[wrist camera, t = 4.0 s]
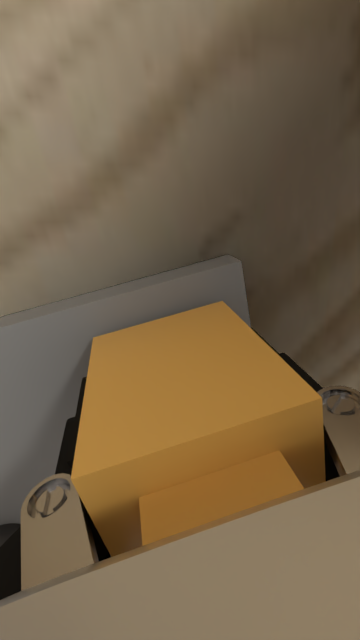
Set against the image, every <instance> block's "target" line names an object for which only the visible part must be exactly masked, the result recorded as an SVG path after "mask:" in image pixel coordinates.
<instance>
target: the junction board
mask: <svg viewBox="0 0 360 640" xmlns="http://www.w3.org/2000/svg"><path fill="white" fill-rule="evenodd" d="M220 301H223V302H224V303H225V304H226V305H227V306H228V307H230V308H231V309H232V310H233V311H234V312H235V313H236V314H237V315H238V316H239V317H240V318H241V319H242V320H243V321H244V322H245V323H246V324H247V325H248V326H249V327H250V328H251V323H250V316H249V310H248V303H247V296H246V289H245V282H244V276H243V269H242V262H241V260H239V259H236V258H234V257H232V256H230V255H225V256H221V257H217V258H214V259H210V260H206V261H203V262H199V263H195V264H192V265H188V266H185V267H181V268H177V269H174V270H170V271H166V272H163V273H159V274H155V275H152V276H148V277H144V278H141V279H137V280H134V281H130V282H126V283H123V284H119V285H115V286H112V287H108V288H104V289H101V290H97V291H94V292H90V293H86V294H83V295H79V296H75V297H72V298H68V299H64V300H61V301H57V302H53V303H50V304H46V305H43V306H39V307H35V308H32V309H28V310H24V311H21V312H17V313H13V314H10V315H6V316H3V317H0V547H1V546H2V545H3V544H4V542H5V541H6V540H7V539H8V538H9V537H10V536H11V535H12V534H13V533H14V532H15V531H16V530H17V529H18V528H19V527H20V526H21V508H22V504H23V502H24V500H25V498H26V496H27V495H28V494H29V493H30V491H31V490H32V489H33V488H34V487H35V486H36V485H37V484H38V483H40V482H41V481H43V480H44V479H46V478H48V477H50V476H52V475H55V471H56V466H57V462H58V457H59V453H60V448H61V443H62V439H63V434H64V430H65V425H66V422H67V419H69V418H72V417H75V415H76V410H77V404H78V399H79V393H80V388H81V382H82V378H83V377H87V373H88V367H89V360H90V354H91V348H92V341H93V337H97V336H100V335H104V334H107V333H111V332H114V331H118V330H121V329H125V328H128V327H132V326H135V325H139V324H142V323H146V322H149V321H153V320H157V319H160V318H164V317H167V316H171V315H174V314H178V313H181V312H185V311H188V310H192V309H195V308H199V307H202V306H206V305H209V304H213V303H216V302H220Z"/></svg>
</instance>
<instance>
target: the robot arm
mask: <svg viewBox="0 0 360 640" xmlns="http://www.w3.org/2000/svg"><path fill="white" fill-rule="evenodd" d="M251 329H252V330H253V331H254V332H255V333H256V334H257V335H258V336H259V337H260V338H261V339H262V340H263V341H264V342H265V343H266V344H268V343H267V342H266V341H265V340H264V339H263V338H262V337H261V336H260V335H259V334H258V333H257V332H256V331H255V330H254V329H253V328H251ZM268 345H269V344H268ZM269 346H270V345H269ZM270 347H271V346H270ZM271 348H272V347H271ZM272 349H273V348H272ZM273 350H274V351H275V352H276V353H277V354H278V355H279V356H280V357H281V358H282V359H283V360H284V361H285V362H286V363H287V364H288V365H289V366H290V367H291V368H292V369H293V370H294V371H295V372H296V373H297V374H298V375H299V376H300V377H301V378H302V379H303V380H305V381H306V382H307V383H308V384H309V385H310V386H311V387H312V388H313V389H314V390H315V391H316V392H317V393H318V394H319V395H320V396H321V397H322V405H323V429H324V453H325V477H326V482H323V483H320V484H317V485H314V486H311V487H308V488H306V489H303V490H300V491H297V492H294V493H291V494H288V495H285V496H282V497H279V498H277V499H274V500H271V501H268V502H265V503H262V504H260V505H257V506H254V507H251V508H248V509H245V510H242V511H240V512H237V513H234V514H231V515H228V516H225V517H223V518H220V519H217V520H214V521H211V522H208V523H206V524H203V525H200V526H197V527H194V528H191V529H189V530H186V531H183V532H180V533H177V534H175V535H172V536H169V537H166V538H163V539H161V540H158V541H155V542H152V543H149V544H147V545H144V546H141V547H138V548H136V549H133V550H130V551H127V552H124V553H122V554H119V555H116V556H113V557H111V555H110V553H109V551H108V549H107V547H106V546H105V544H104V542H103V540H102V538H101V536H100V534H99V532H98V530H97V529H96V527H95V525H94V523H93V521H92V519H91V517H90V515H89V513H88V511H87V510H86V508H85V506H84V504H83V502H82V500H81V498H80V496H79V494H78V492H77V491H76V489H75V487H74V485H73V483H72V481H71V474H72V468H73V461H74V455H75V449H76V442H77V436H78V430H79V423H80V417H81V411H82V405H83V398H84V392H85V386H86V379H87V377H83V378H82V382H81V388H80V393H79V399H78V404H77V410H76V415H75V417H72V418H69V419H67V422H66V425H65V430H64V434H63V439H62V443H61V448H60V453H59V457H58V462H57V466H56V471H55V475H52V476H50V477H48V478H46V479H44V480H43V481H41V482H40V483H38V484H37V485H36V486H35V487H34V488H33V489H32V490H31V491H30V493H29V494H28V495H27V496H26V498H25V500H24V502H23V504H22V508H21V526H20V527H19V528H18V529H17V530H16V531H15V532H14V533H13V534H12V535H11V536H10V537H9V538H8V539H7V540H6V541H5V542H4V544H3V545H2V546H1V547H0V640H360V392H359V391H357V390H355V389H352V388H349V387H344V386H329V387H325V388H322V387H321V386H320V385H319V384H318V383H317V382H315V381H314V380H313V379H312V378H311V377H310V376H309V375H308V374H307V373H306V372H305V371H304V370H302V369H301V368H300V367H299V366H298V365H297V364H296V363H295V362H294V361H293V360H292V359H291V358H290V357H288V356H287V355H286V354H285V353H280V354H279V353H278V352H277V351H276V350H275V349H273Z"/></svg>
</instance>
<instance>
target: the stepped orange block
mask: <svg viewBox="0 0 360 640" xmlns="http://www.w3.org/2000/svg"><path fill="white" fill-rule="evenodd" d="M71 481H72V483H73V485H74V487H75V489H76V491H77V492H78V494H79V496H80V498H81V500H82V502H83V504H84V506H85V508H86V510H87V511H88V513H89V515H90V517H91V519H92V521H93V523H94V525H95V527H96V529H97V530H98V532H99V534H100V536H101V538H102V540H103V542H104V544H105V546H106V547H107V549H108V551H109V553H110V555H111V557H113V556H116V555H119V554H122V553H124V552H127V551H130V550H133V549H136V548H138V547H141V546H144V545H147V544H149V543H152V542H155V541H158V540H161V539H163V538H166V537H169V536H172V535H175V534H177V533H180V532H183V531H186V530H189V529H191V528H194V527H197V526H200V525H203V524H206V523H208V522H211V521H214V520H217V519H220V518H223V517H225V516H228V515H231V514H234V513H237V512H240V511H242V510H245V509H248V508H251V507H254V506H257V505H260V504H262V503H265V502H268V501H271V500H274V499H277V498H279V497H282V496H285V495H288V494H291V493H294V492H297V491H300V490H303V489H306V488H308V487H311V486H314V485H317V484H320V483H323V482H326V477H325V453H324V429H323V405H322V397H321V396H320V395H319V394H318V393H317V392H316V391H315V390H314V389H313V388H312V387H311V386H310V385H309V384H308V383H307V382H306V381H305V380H303V379H302V378H301V377H300V376H299V375H298V374H297V373H296V372H295V371H294V370H293V369H292V368H291V367H290V366H289V365H288V364H287V363H286V362H285V361H284V360H283V359H282V358H281V357H280V356H279V355H278V354H277V353H276V352H275V351H274V350H273V349H272V348H271V347H270V346H269V345H268V344H266V343H265V342H264V341H263V340H262V339H261V338H260V337H259V336H258V335H257V334H256V333H255V332H254V331H253V330H252V329H251V328H250V327H249V326H248V325H247V324H246V323H245V322H244V321H243V320H242V319H241V318H240V317H239V316H238V315H237V314H236V313H235V312H234V311H233V310H232V309H231V308H230V307H228V306H227V305H226V304H225V303H224V302H223V301H220V302H216V303H213V304H209V305H206V306H202V307H199V308H195V309H192V310H188V311H185V312H181V313H178V314H174V315H171V316H167V317H164V318H160V319H157V320H153V321H149V322H146V323H142V324H139V325H135V326H132V327H128V328H125V329H121V330H118V331H114V332H111V333H107V334H104V335H100V336H97V337H93V341H92V348H91V354H90V360H89V367H88V373H87V379H86V386H85V392H84V398H83V405H82V411H81V417H80V423H79V430H78V436H77V442H76V449H75V455H74V461H73V468H72V474H71Z"/></svg>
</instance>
